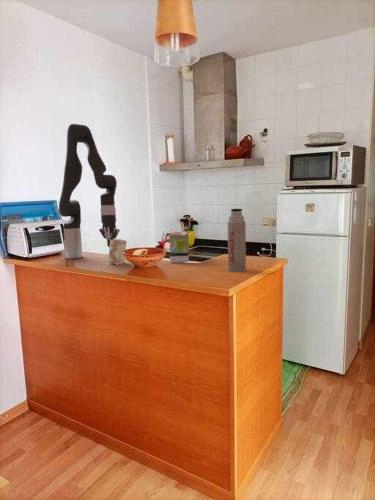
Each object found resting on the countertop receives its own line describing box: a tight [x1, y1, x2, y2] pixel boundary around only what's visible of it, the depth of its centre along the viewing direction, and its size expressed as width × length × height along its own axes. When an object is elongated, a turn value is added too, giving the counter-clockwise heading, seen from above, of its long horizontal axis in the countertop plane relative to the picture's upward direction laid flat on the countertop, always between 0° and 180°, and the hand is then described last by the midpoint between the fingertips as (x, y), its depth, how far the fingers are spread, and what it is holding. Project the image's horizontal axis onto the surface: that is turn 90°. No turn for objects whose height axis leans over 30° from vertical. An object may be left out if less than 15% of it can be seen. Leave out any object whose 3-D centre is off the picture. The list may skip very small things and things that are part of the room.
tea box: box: [168, 231, 190, 264], centre depth 198 cm, size 15×10×15 cm, turn 179°
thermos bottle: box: [227, 208, 247, 273], centre depth 169 cm, size 8×8×28 cm
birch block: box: [108, 237, 127, 266], centre depth 194 cm, size 6×6×12 cm
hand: (110, 246), depth 196 cm, fingers closed
